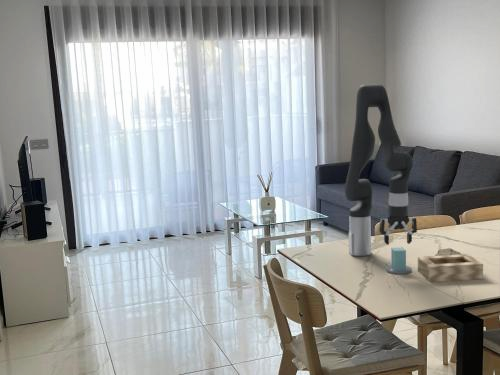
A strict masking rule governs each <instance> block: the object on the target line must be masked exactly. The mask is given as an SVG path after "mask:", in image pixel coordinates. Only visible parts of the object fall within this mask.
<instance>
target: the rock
mask: <svg viewBox="0 0 500 375" xmlns="http://www.w3.org/2000/svg"><path fill="white" fill-rule="evenodd" d="M460 254H462V253H461V252H460V251H457V250H454V249H453V248H450V247H446V248H440V249H438V251H437V253H435V255H434V256H442V255H460Z"/></svg>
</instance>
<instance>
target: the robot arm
mask: <svg viewBox="0 0 500 375" xmlns="http://www.w3.org/2000/svg"><path fill="white" fill-rule="evenodd" d="M355 104H356V106H355V120H354V121H355V122H354V131H353V137H352V144H351V153H350V161H349V167H348V172H347V176H346V180H345V183H344V184H345V185H344V195H345V198H346V200H347V201H348V202H357V201H358V202H357V204H356V205H354V206H353V207H351V208H350V209H349V211H348V218H349V219H348V220H349V224H348V225H349V231H348V253H349V254H350V255H351V256H354V257H355V256H357V257H365V256H369V255H371V254H372V236H371V235H372V233H371V230H372V228H371V227H372V225H371V224H372V222H371V211H372V208H373V207H372V206H373V187H372V184H371V181H370V180H369V179H368V178H360V176H361V174H362V171H363V169H364V168H365V167H366V165H367V164H368V162H369V161H370V159H371V158H372V157H373V154H374V150H375V144H376V137H375V133H374V131H373V129H372V127H371V125H370V122H369V116H368V114H369V113H368V112H369V108H378V111H379V113H380V119H379V123H378V126H377V135H378V138H379V140H380V143H381V145H382V149H383V150H382V151H383V158H384V159H383V162H384V166H385V168H386V170H388V171H389V172H397V174H396V175H395V176H392V177H390V179H389V180H388V182H389V183H388V188H389V189H388V201H387V203H388V210H387V211H388V217H387V218H383V217H382V218H380V219H379V233H380V234H381V235H384V236H383V242H384V243H385V244H386V245H390V236H389V235H390V233H391V232H393V230H394V231H395V230H405V231H406V232H407V233H406V243H407V245H409V244H411V243H412V242H413V241H412V240H413V234H414V233H415V234H416V233H417V232H418V227H417V226H418V225H417V222H418V221H417V218H416V217H415V216H412V217H409V193H408V192H409V191H408V190H409V189H408V188H409V184H408V183H409V179H410V175H411V172H412V168H413V166H414V165H413V163H414V162H413V161H414V160H413V157H412V154H410V153H409V152H406V151H405V152H395V151H397V150H399V149H400V147H401V146H402V142H401V139H400V137H399V135H398V132H397V130H396V127H395V123H394V120H393V115H392V111H391V105H390V100H389V97H388V92H387V90H386V88H385V86H384V85H382V84H376V83H375V84H362V85H360V86H359V87H358V89H357V93H356V102H355ZM409 222H410V223H411V229H410V228H409V226H408V223H409ZM387 223H388V226H386V229H385V225H386V224H387Z"/></svg>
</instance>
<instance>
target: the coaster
mask: <svg viewBox="0 0 500 375" xmlns="http://www.w3.org/2000/svg"><path fill="white" fill-rule="evenodd" d="M412 269H413V268H412V267H410V266H408V265H406V270H397V271H395V270H394V269H393V268H392V265H388V266H386V267H385V271H386V272H387V273H389V274H392V275H407V274H410V273H412V271H413V270H412Z"/></svg>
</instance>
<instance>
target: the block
mask: <svg viewBox="0 0 500 375" xmlns="http://www.w3.org/2000/svg"><path fill="white" fill-rule="evenodd" d="M390 252H391V260H390V261H391V266H392V268H393V269H394V270H395V271H397V270H406V266H407V249H405V248H404V247H391V251H390Z"/></svg>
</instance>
